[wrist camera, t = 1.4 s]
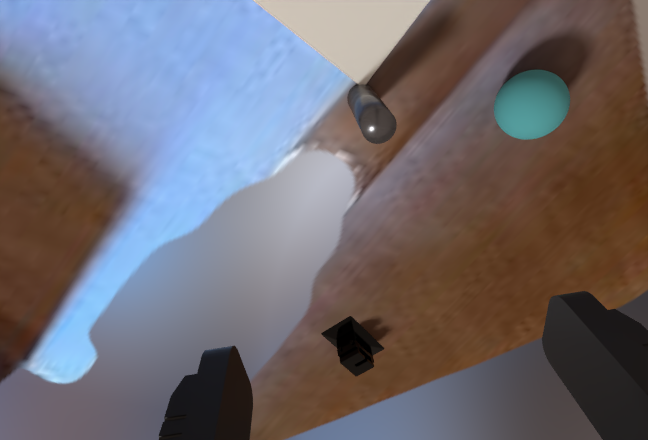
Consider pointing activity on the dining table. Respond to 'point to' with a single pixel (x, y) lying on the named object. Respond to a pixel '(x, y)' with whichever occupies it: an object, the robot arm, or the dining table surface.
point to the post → (371, 114)
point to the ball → (531, 104)
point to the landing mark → (348, 29)
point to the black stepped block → (353, 345)
